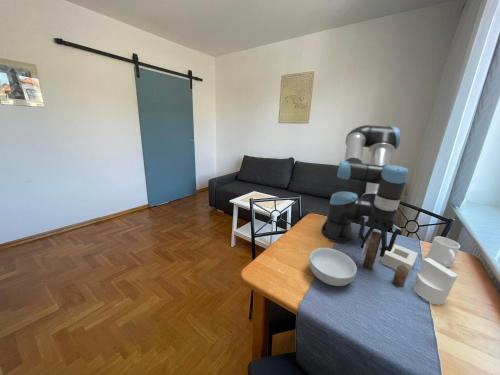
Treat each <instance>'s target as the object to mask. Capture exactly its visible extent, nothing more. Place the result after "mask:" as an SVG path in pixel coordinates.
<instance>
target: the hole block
mask: <svg viewBox="0 0 500 375" xmlns="http://www.w3.org/2000/svg"><path fill="white" fill-rule="evenodd" d="M418 254H419V253H418V252H417V251H415V250H412V249H408V248H406V247H404V246H401V245H398V244H395V243H394V246H393V248H392V250H391V251H390V252H389V251H385V254H384V256H383V257H381V260H380V264H381V265H384V266H387V267H389V268H390V269H392V270H395V271H396V269H397V266H398V265H401V266H404V267H406V268H408V269H409V273H408V275H407V277H408V276H410V274H411V272H412V269H413V267H414V264H415V263H416V262H415V261H416V259H417V257H418Z"/></svg>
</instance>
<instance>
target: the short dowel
mask: <svg viewBox="0 0 500 375" xmlns="http://www.w3.org/2000/svg"><path fill="white" fill-rule="evenodd" d="M408 273H409V269H408V268H406V267H404V266H401V265H398V266H397V269H396V270H395V272H394V274H393V278H392V281H391V282H392V284H393V285H395V286H396V287H398V288H403V287H404V286H405V283H406V280H407V277H408V276H407V275H408Z"/></svg>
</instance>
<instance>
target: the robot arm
mask: <svg viewBox="0 0 500 375" xmlns="http://www.w3.org/2000/svg"><path fill="white" fill-rule="evenodd" d="M401 138H402V137H401V131H400V129H399V128H398V127H396V126H391V125H387V126H386V125H385V126H384V125H383V126H382V125H367V124H363V125H360V126H358V127H356V128H353V129H352V130H350V132H348V134H347V135H346V137H345V141H344V142H345V145H346V148H345V153H344V154H345V156H344V161H343V160H341V161H340V162H339V165H338V168H337V175H336V177H337V178H339V179H342V180H347V181H354V182H362V183H366V186H365V188H366V189H365V193H363V194H362V195H361V196H360V197H358V194H357V193H355V192H351V191H345V190H344V191H337V192H334V193H333V194H332V195H331V197H330V200H329V207H328V212H327V217H326V220H324V222H323V224H322V226H321V229H320V233H321V234H322V236H323V237H324V238H327V240H330V241H332V242H336V243H349V242H351V241H352V238H353V229H352V222H359V223H360V227H359V232H358V234H357V238H358V240H360V241H361V243H360V248H361V249H362V252H361V256H360V257H361V258H364V257H365V255H366V252H367V248H368V245H369V241H370V240H368V239H370V237H371V234H372V232H373V231H374V230H378V231H380V233H381V241H380V243H381V246H379V248H378V251H377V254H376V258H375V261H374V264H378V263H379V262H380V259H381V258H382V257H383V256H384V254H385V251H389V252H390V251H391V250H392V248H393V246H394V244H395V243H396V240H397V237H398V234H400V232H401V231H402V228H401V227H398V226H397V225H395V221H394V220H395V217H396V213H397V210H398V208H399V205H400V201H401V198H402V194H403V191H404V189H405V185H406V184H407V180H408V175H409V173H410V172H409V169H408V168H407V167H403V166H400V165H395V164H393V165H392V164H391V161H390V160H391V155H392V153H394V152H395V151H396V150H397V149H398V148H399V146H400V142H401ZM364 148H368V153H370V161H369V163H364ZM366 225H370V227H369V228H368V230H367V232H366V234H365V231H366ZM391 228H392V229H391ZM389 229H391V230H392V234H391V237H390V240H389V243H388V230H389ZM364 234H365V235H364Z"/></svg>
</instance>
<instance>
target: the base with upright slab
mask: <svg viewBox="0 0 500 375" xmlns="http://www.w3.org/2000/svg"><path fill="white" fill-rule="evenodd" d="M420 265H421V266H420V268H419V270H418V272H417V274H416V277H415V279H414V282H413V285H412V290H413V292H414V291H415V292H416V293H417V294H418V295H419V296H421V297H422V298H424V299H426V300H427V301H426V300H425V301H426V302H428V301H429V302H428V303H430V302H431V303H430V304H433V303H434V304H433V305H437V304H441V305H444V304H445V302H446V301H447V299H448V297H449V295H450V292H451V290H452V288H453V286H454V284H455V282H456V280H457V278H458V275H459V274H457V273H455V272H454V271H452V270H451V269H449V268H448V267H444V266H442V265H441V264H439V263H437V262H436V261H434V260H432V259H431V258H427V257H426V258H423V260H422V263H421V264H420ZM415 292H414V293H415ZM416 293H415V294H416ZM417 294H416V295H417ZM418 295H417V296H418ZM419 296H418V297H419ZM421 297H420V298H421ZM422 298H421V299H422ZM424 299H423V300H424Z"/></svg>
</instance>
